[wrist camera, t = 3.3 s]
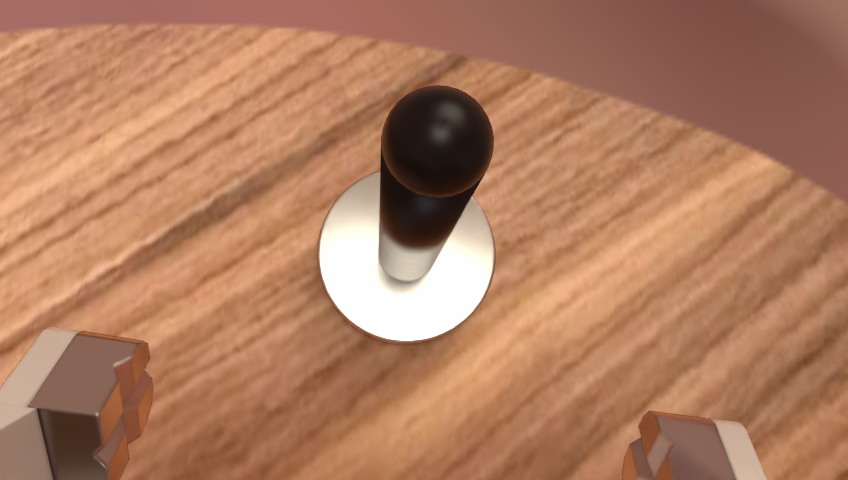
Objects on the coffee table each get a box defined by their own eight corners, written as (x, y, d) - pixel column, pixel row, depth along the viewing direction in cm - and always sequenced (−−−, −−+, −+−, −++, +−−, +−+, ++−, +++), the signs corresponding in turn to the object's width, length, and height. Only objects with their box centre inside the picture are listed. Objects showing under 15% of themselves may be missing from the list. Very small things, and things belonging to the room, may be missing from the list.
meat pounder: (482, 180, 25) (612, -49, 11) (490, 342, 24) (643, 308, 10) (320, 183, 25) (251, -51, 11) (322, 348, 24) (249, 320, 10)
